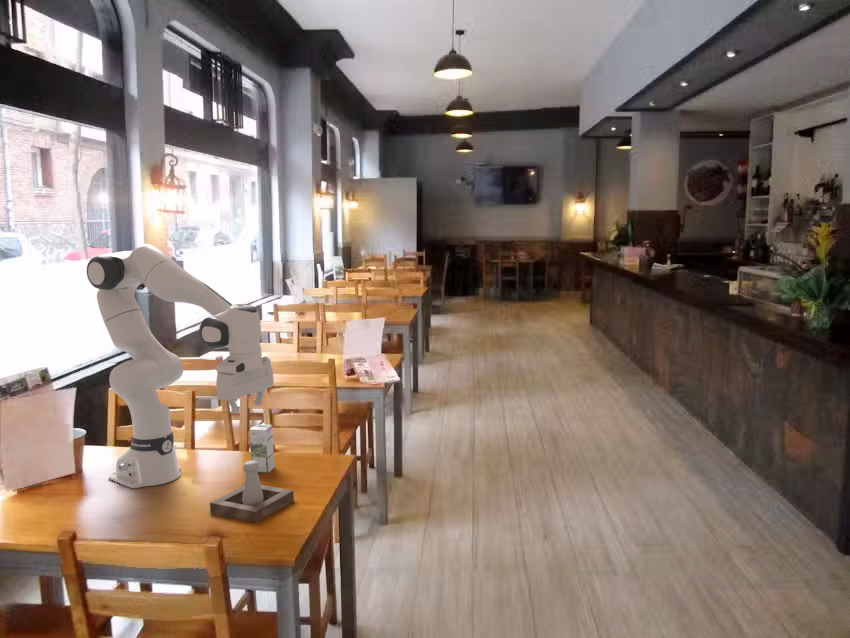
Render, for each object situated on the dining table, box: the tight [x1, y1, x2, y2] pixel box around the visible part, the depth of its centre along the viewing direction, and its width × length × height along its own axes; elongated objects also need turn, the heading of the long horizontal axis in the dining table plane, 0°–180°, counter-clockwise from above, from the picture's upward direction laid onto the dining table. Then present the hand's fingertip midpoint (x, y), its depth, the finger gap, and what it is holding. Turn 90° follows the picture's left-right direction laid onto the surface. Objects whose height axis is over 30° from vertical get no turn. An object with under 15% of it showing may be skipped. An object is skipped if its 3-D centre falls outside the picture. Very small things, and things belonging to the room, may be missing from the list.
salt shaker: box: [242, 460, 264, 507], centre depth 190 cm, size 6×6×13 cm
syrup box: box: [249, 424, 276, 474], centre depth 220 cm, size 6×6×14 cm
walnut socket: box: [209, 484, 295, 523], centre depth 191 cm, size 16×16×3 cm
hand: (247, 408), depth 197 cm, fingers open, 8 cm apart
